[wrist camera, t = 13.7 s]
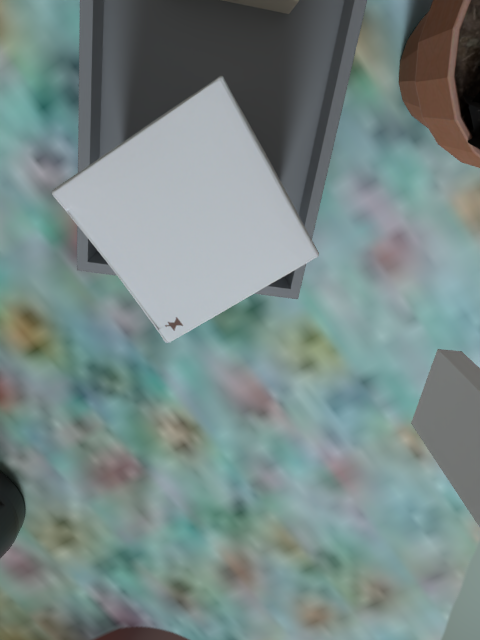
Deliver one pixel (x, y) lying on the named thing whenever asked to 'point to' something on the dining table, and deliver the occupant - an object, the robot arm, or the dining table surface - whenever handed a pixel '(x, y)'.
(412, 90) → the potted plant
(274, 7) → the beige block
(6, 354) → the dining table surface
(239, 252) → the supplement box
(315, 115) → the grey shallow rectangular tray
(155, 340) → the dining table surface
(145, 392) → the dining table surface
